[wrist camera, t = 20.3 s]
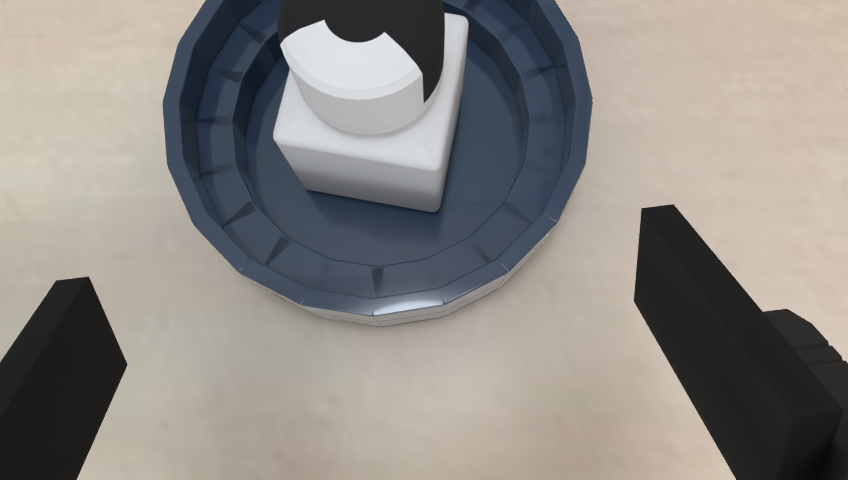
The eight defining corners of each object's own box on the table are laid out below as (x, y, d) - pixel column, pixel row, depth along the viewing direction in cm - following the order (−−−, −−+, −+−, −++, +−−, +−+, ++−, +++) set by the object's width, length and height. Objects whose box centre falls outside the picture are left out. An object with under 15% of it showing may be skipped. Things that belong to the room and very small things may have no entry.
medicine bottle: (332, 65, 36) (283, -93, 24) (463, 87, 36) (477, -63, 24) (302, 190, 34) (234, 85, 23) (438, 215, 34) (440, 121, 22)
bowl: (125, 142, 36) (77, 102, 31) (387, -85, 39) (381, -154, 34) (380, 409, 33) (370, 412, 28) (646, 139, 35) (679, 99, 31)
